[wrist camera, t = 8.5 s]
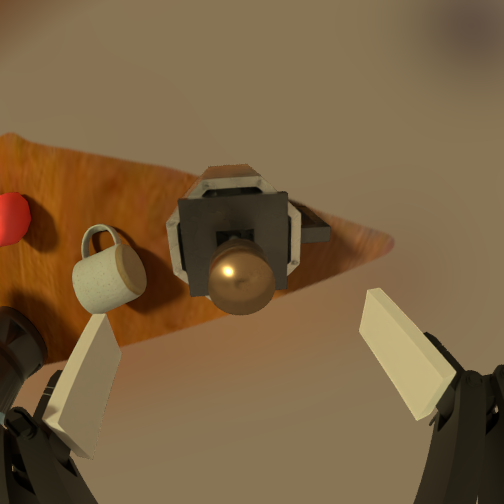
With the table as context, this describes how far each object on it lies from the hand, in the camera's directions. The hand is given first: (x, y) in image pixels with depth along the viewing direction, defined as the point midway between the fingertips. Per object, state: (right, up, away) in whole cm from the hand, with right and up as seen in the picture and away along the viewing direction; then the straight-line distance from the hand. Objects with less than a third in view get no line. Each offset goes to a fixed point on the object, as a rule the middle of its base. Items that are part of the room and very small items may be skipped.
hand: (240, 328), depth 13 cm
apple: (-35, +10, +17) cm, 40 cm away
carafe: (-1, +9, +21) cm, 23 cm away
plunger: (-2, +8, +20) cm, 21 cm away
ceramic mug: (-19, +3, +22) cm, 29 cm away
